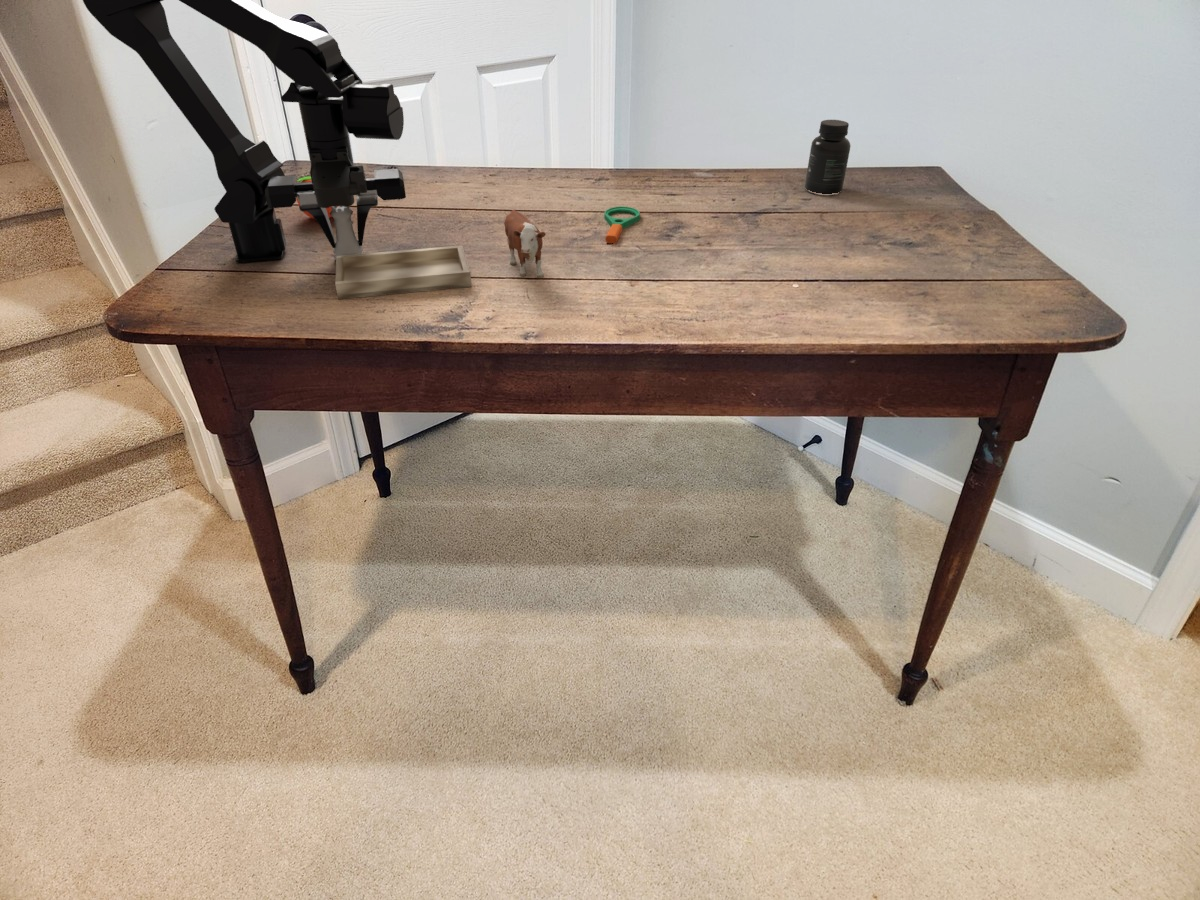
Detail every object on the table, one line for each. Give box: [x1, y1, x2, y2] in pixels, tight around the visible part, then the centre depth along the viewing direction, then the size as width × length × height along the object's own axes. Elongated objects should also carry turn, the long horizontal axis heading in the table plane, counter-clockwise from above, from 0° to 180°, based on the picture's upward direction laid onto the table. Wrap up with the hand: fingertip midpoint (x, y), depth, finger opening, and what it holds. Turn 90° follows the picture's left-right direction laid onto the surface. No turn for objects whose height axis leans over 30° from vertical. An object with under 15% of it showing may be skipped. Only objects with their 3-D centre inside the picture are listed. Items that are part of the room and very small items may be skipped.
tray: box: [334, 245, 472, 300], centre depth 112 cm, size 18×10×2 cm, turn 104°
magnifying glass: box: [603, 206, 641, 244], centre depth 130 cm, size 15×6×2 cm, turn 170°
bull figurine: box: [503, 209, 547, 279], centre depth 113 cm, size 4×13×8 cm, turn 16°
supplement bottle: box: [804, 119, 851, 194], centre depth 143 cm, size 7×7×12 cm
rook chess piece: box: [330, 206, 365, 261], centre depth 116 cm, size 4×4×8 cm
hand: (347, 246), depth 117 cm, fingers closed on rook chess piece, 3 cm apart
